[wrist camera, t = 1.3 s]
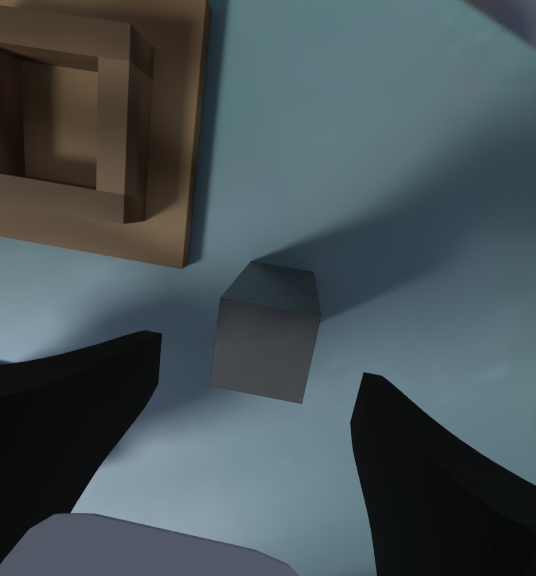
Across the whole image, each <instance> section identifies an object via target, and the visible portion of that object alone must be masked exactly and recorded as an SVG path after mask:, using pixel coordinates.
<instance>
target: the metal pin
mask: <svg viewBox="0 0 536 576" xmlns="http://www.w3.org/2000/svg"><path fill="white" fill-rule="evenodd" d="M320 318H321V313H320V307H319V301H318V295H317V289H316V283H315V278H314V272H308V271H303V270H297V269H291V268H286V267H280V266H274V265H269V264H263V263H257V262H252V261H251V262H250V263H249V264H248V265H247V266H246V268H245V269H244V270H243V271H242V273H241V274H240V275H239V276H238V277H237V279H236V280H235V281H234V282H233V283H232V285H231V286H230V287H229V288H228V289H227V291H226V292H225V293H224V294H223V295H222V297H221V299H220V307H219V315H218V323H217V331H216V339H215V347H214V355H213V363H212V371H211V379H210V386H214V387H219V388H224V389H229V390H234V391H239V392H244V393H249V394H254V395H259V396H264V397H269V398H274V399H279V400H284V401H290V402H295V403H300V404H302V402H303V397H304V392H305V388H306V383H307V379H308V374H309V369H310V365H311V360H312V355H313V351H314V346H315V342H316V337H317V332H318V328H319V323H320Z"/></svg>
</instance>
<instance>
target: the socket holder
mask: <svg viewBox="0 0 536 576" xmlns="http://www.w3.org/2000/svg"><path fill="white" fill-rule="evenodd" d="M210 19H211V7H210V5H209V3H208V0H0V236H1V237H7V238H13V239H18V240H24V241H29V242H35V243H40V244H46V245H52V246H57V247H63V248H68V249H74V250H79V251H85V252H90V253H96V254H102V255H107V256H113V257H118V258H124V259H129V260H135V261H141V262H146V263H152V264H157V265H163V266H168V267H174V268H179V269H183V268H185V267H186V266H188V255H189V244H190V233H191V223H192V212H193V201H194V191H195V180H196V169H197V158H198V148H199V137H200V126H201V115H202V105H203V94H204V83H205V73H206V62H207V51H208V40H209V30H210Z"/></svg>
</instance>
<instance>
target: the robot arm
mask: <svg viewBox="0 0 536 576" xmlns="http://www.w3.org/2000/svg"><path fill="white" fill-rule="evenodd" d="M161 340H162V333H157V332H151V331H146V330H145V331H140V332H136V333H132V334H129V335H125V336H122V337H119V338H116V339H112V340H109V341H106V342H103V343H100V344H96V345H93V346H89V347H86V348H82V349H79V350H75V351H71V352H68V353H64V354H60V355H55V356H51V357H46V358H41V359H36V360H31V361H25V362H19V363H12V364H5V365H0V576H299V575H298V574H297V573H296V572H295V571H294V569H293V568H292V567H291V566H289V565H288V564H287V563H284V562H282V561H280V560H278V559H275V558H273V557H271V556H269V555H266V554H264V553H262V552H260V551H257V550H255V549H250V548H246V547H241V546H237V545H233V544H228V543H224V542H219V541H215V540H210V539H206V538H201V537H197V536H193V535H188V534H184V533H179V532H175V531H170V530H166V529H161V528H157V527H153V526H148V525H144V524H139V523H135V522H130V521H126V520H121V519H117V518H113V517H108V516H104V515H99V514H88V513H71V511H72V509H73V508H74V506H75V504H76V503H77V501H78V499H79V498H80V496H81V495H82V493H83V491H84V490H85V488H86V487H87V485H88V484H89V482H90V480H91V479H92V477H93V476H94V474H95V472H96V471H97V470H98V468H99V467H100V465H101V464H102V463H103V461H104V460H105V458H106V457H107V456H108V455H109V453H110V452H111V451H112V449H113V448H114V447H115V446H116V444H117V443H118V442H119V440H120V439H121V438H122V437H123V435H124V434H125V433H126V431H127V430H128V429H129V428H130V426H131V425H132V424H133V422H134V421H135V420H136V418H137V417H138V416H139V414H140V413H141V412H142V410H143V409H144V408H145V406H146V405H147V403H148V401H149V399H150V398H151V396H152V394H153V392H154V391H155V389H156V387H157V385H158V380H159V367H160V353H161ZM350 425H351V437H352V447H353V453H354V457H355V462H356V466H357V471H358V475H359V479H360V483H361V488H362V492H363V496H364V500H365V504H366V509H367V513H368V517H369V523H370V528H371V533H372V541H373V548H374V556H375V563H376V571H377V576H536V486H535V485H534V484H532V483H530V482H528V481H526V480H524V479H522V478H521V477H519V476H517V475H515V474H514V473H512V472H510V471H509V470H507V469H505V468H504V467H502V466H500V465H498V464H497V463H495V462H493V461H492V460H490V459H489V458H487V457H485V456H484V455H482V454H481V453H479V452H478V451H476V450H475V449H473V448H472V447H470V446H469V445H467V444H466V443H464V442H463V441H462V440H460V439H459V438H457V437H456V436H455V435H453V434H452V433H450V432H449V431H448V430H447V429H445V428H444V427H443V426H441V425H440V424H439V423H438V422H436V421H435V420H434V419H432V418H431V417H430V416H429V415H428V414H426V413H425V412H424V411H423V410H422V409H420V408H419V407H418V406H417V405H416V404H415V403H413V402H412V401H411V400H410V399H409V398H408V397H407V396H406V395H404V394H403V393H402V392H401V391H400V390H399V389H398V388H396V387H395V386H394V385H393V384H392V383H391V382H389V381H388V380H387V379H386V378H384V377H383V376H381V375H376V374H370V373H365V372H364V373H363V377H362V381H361V384H360V388H359V392H358V395H357V399H356V403H355V407H354V410H353V414H352V418H351V421H350Z"/></svg>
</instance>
